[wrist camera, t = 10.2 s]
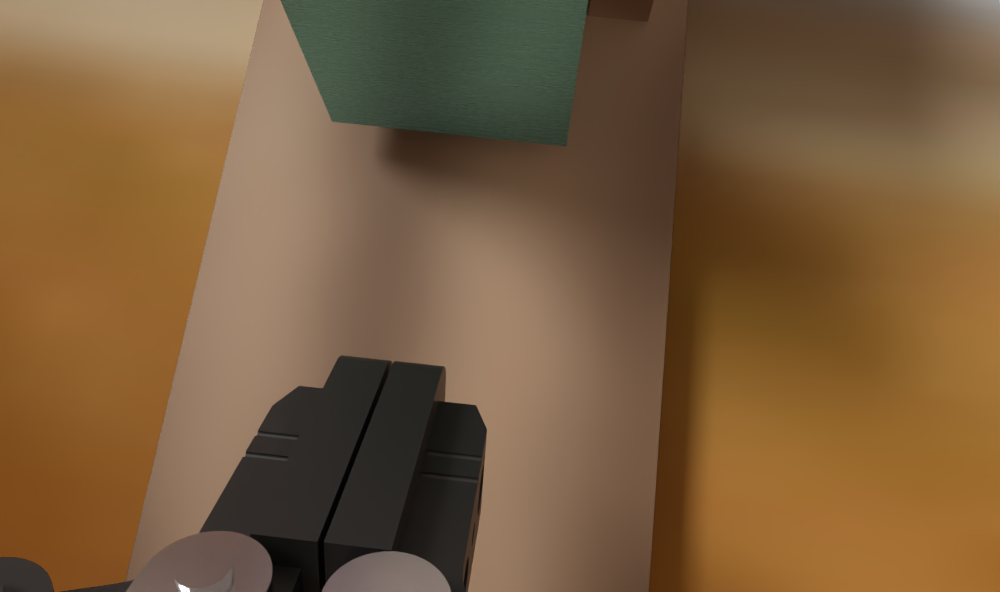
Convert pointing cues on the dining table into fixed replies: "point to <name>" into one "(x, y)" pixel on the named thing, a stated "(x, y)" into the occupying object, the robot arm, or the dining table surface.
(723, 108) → the dining table surface
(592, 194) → the rail board
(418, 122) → the slip tube
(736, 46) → the dining table surface
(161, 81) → the dining table surface
